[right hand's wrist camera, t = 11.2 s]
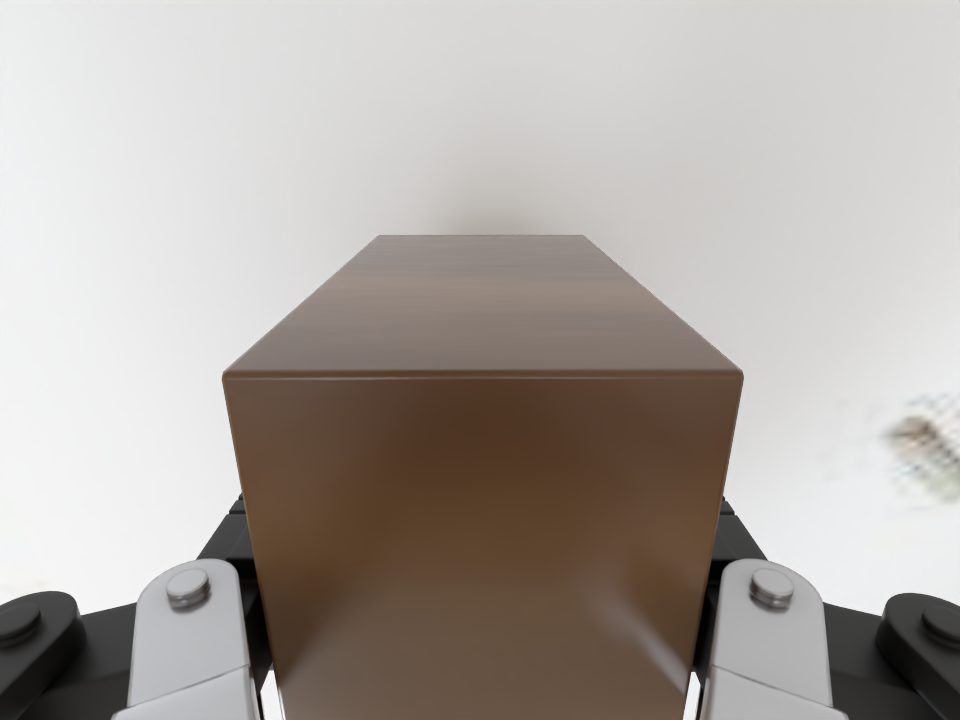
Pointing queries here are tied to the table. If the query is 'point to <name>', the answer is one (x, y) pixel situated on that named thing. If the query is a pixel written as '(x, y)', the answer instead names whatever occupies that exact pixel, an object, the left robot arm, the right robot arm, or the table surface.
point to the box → (482, 485)
